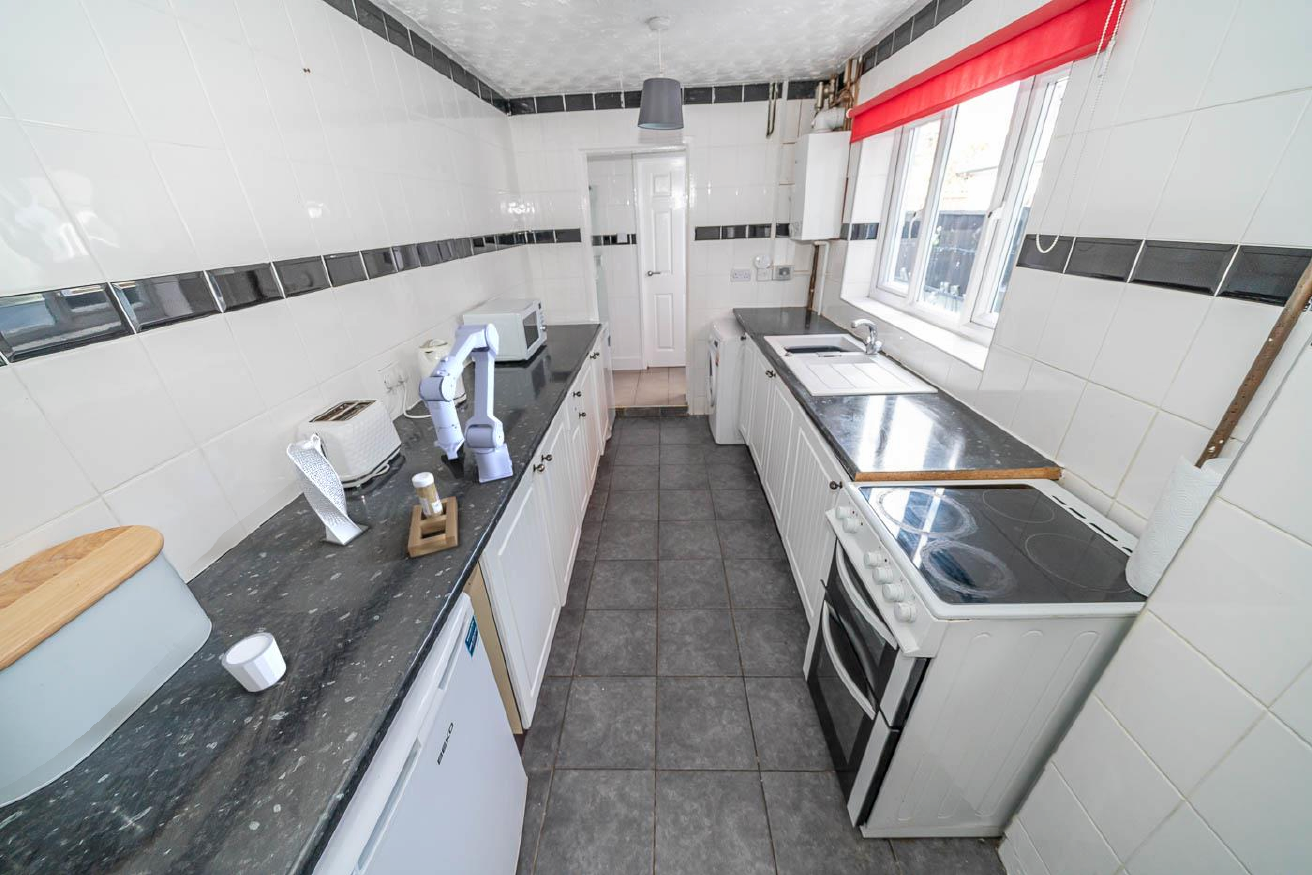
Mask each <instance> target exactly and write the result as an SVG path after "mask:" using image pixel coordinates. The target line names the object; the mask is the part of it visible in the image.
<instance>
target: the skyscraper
mask: <svg viewBox="0 0 1312 875" xmlns="http://www.w3.org/2000/svg"><path fill="white" fill-rule="evenodd" d="M314 437H315V438H316V439H314ZM321 444H322V443H321V438H320V436H319V435H317V434H315V433H313V434H311V436H310V439H303V440H300V441H297V442H296V443H292V442H290V443H289V444H288V445H287V447H286V450H285V454H286V456H287V457H288V458H289V459H290V460H291V461H292V462H293V466H294V469H295V473H296V476H297V480H298V484H299V485H300V488H301V490H302V493H303V495H304V496H305V498H306V500H307V501H308V503H309V505H310V506H311V508H312V510H313V511H314V512H315V514H316V515H317V517H318V518H319V519H320V520H321V522H322V523H323V524H324V526H325V533H326V536H325V537H323V538H322V540H323V542H329V543H332V544H337V545H340V546H346V545H347V544H348V543H350V542H351V541H353V540H354V539H355V538H357V537H358V536H360V535H361V534H362V533H364V532H365V531H367V530H368V529H370V527H369V526H368V525H363V524H360V523H359V524H358V523H355V522H354V521H352V519H350V517H349V516H348V508H347V500H346V494H345V490H344V487H343V484H342V481H341V479H340V477H339V475H338V473H337V472H336V469H335V468H334V467H333V465H332V464H331V463H330V461H329V459H327V457H326V456H325V455H324V454H323V453H322V450H321V448H322V446H321Z"/></svg>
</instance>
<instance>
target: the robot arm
mask: <svg viewBox="0 0 1312 875" xmlns="http://www.w3.org/2000/svg"><path fill="white" fill-rule="evenodd" d="M454 338H455V342H454V343H453V345H452V347H451V350H450V352H449V354H448V355H444V356H441V357H440V359H439V360H438V362H437V364H436V365H435V367H434V368H433V370H432V372H431V373H430V375H429V376H426V377H423V379H421V380H420V381H419V383H418V385H417V386H418V387H417V388H418V389H417V390H418V393H417V395H418V397H419V399H420V400H421V401H422V402H423V403H424V406H425V408H426V409H427V410H429V414H430V417H431V420H432V424H433V427H434V430H435V434H436V437H437V440H435V441H434V442H433V446H434V447H435V448H436V447H440V448H441V449H442V450H443V451H444V452H445V453H446V454H442V455H440V460H441V462H442V463H443V464H444V465H445V466H446V467H447V468H448V469H449V471H450V472H451V474H452V476H453V478H454V479H455V480H460V479H461V480H462V479H464V478H465V477H466V476H465V475H466V474H465V460H466V456H467V452H466V451H464V447H466V448H469V449H470V451H471V452H473V453H474V457H475V461H476V465H477V469H478V481H479V483H481V484H482V483H487V482H491V481H495V480H499V479H503V478H509V477H513V475H514V472H513V462H512V459H511V458H510V455H509V450H508V445H507V443H504V442H505V433H504V429H503V428H504V427H503V422H502V421H501V420H500V419H498V418H497V417H496V416H495V415H494V395H495V394H494V392H495V390H494V389H495V386H494V385H495V358H496V357H497V356H498V355H499V347H500V346H499V341H500V339H499V338H500V337H499V333H498V331H497V328H496V327H495V325H494V324H492V323H486V324H459V325H458V326H457V328H456V330H455V331H454ZM468 356H469V357H470V358H473V359H474V361H475V364H474V365H475V366H474V370H475V372H474V404H473V405H474V408H473V409H474V410H473V412H474V413H473V415H472V416H471V417H470V418H469V419H467V420H466V421H465V428H464V431H462V428H461V425H460V424H461V423H460V420H459V416H458V413H457V409H456V406H455V401H454V398H455V396H456V389H457V381H458V380H459V378H460V377H461V375H462V373H463V372H464V364H463V363H464V361H465V359H466V358H467V357H468Z"/></svg>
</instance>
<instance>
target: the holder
mask: <svg viewBox="0 0 1312 875" xmlns="http://www.w3.org/2000/svg"><path fill="white" fill-rule="evenodd" d="M440 502H441V505H442V509H443V512H444V513H445V514H444V515H443V516H438V517H434V518H430V519H426V516H425V514H424V512H423V509H422V506H421V503H420V504H415V505H413V510H412V517H411V522H410V529H409V535H408V542H407V550H408V553H409V556H410V558H416V557H420V556H423V555H427V554H431V553H434V552H438V551H443V550H446V549H450V548H455V547H458V532H459V530H458V527H459V524H458V522H459V520H458V519H459V518H458V516H459V514H458V513H459V510H458V509H459V505H458V502H457V498H456V495H455V496H449V497H445V498H442V499H440ZM441 531H445V533H442V534H437V535H433V536H430V537H425V538H423V537H424V536H425V535H430V534H434V533H438V532H441Z"/></svg>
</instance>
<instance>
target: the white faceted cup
mask: <svg viewBox="0 0 1312 875" xmlns="http://www.w3.org/2000/svg"><path fill="white" fill-rule="evenodd" d="M279 648H280V647H279V646H278V644H277V641H276V640H275V637H274V635H273V634H272V633H270V632H258V633H254V634H251V635H248V636H247V637H244V638H242V639H241V640H240V641H238V642H236V643H234V644H233V645H232V646H231V647H230V648H229V649H228V650H226V652H225V653H224V655H223V657H222V658H221V666H222V667H223V668H224V669H226V671H227V672H228V673H229V674H231V675H232V677H234V679H236V681H237V682H239V683H240V685H242V686H243V688H244V689H246V691H248V692H251V693H252V692H253V693H257V692H261V691H263V690H266V689H267V688H269V687H271V686H273V685H274V684H276V683H277V682H278V681H279V680H280V679H281V678H282V677H283V675H284V674H285V673H286V670H287V665H286V662H285V660H284V657H283V656H282V652H281V651H280V649H279Z"/></svg>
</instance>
